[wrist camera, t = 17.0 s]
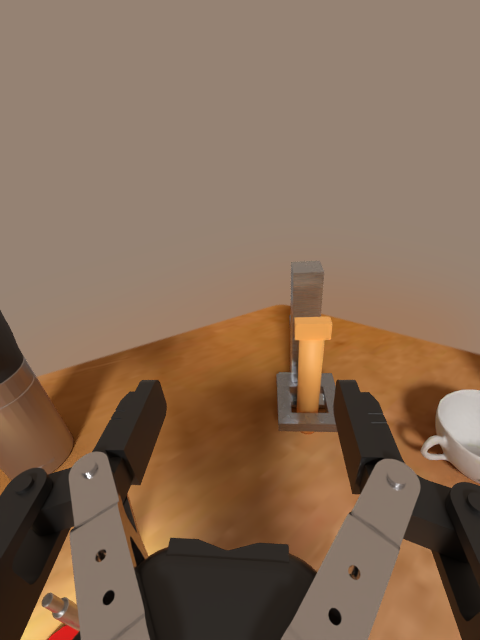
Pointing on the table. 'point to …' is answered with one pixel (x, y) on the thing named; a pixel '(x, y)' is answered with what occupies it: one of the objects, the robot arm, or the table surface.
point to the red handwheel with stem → (63, 616)
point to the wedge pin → (310, 360)
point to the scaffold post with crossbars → (303, 304)
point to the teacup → (458, 432)
